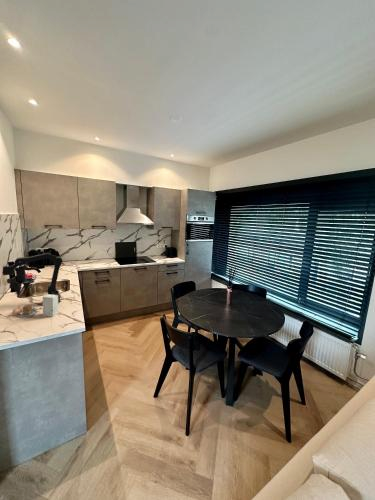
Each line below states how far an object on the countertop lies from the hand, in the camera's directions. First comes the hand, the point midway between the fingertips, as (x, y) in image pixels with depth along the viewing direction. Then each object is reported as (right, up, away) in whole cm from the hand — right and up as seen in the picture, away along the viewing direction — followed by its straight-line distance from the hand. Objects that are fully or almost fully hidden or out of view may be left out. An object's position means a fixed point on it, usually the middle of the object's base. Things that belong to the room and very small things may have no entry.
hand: (22, 293), depth 163 cm
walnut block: (+12, -13, -9) cm, 20 cm away
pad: (+12, -14, -9) cm, 20 cm away
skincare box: (+28, -15, -8) cm, 33 cm away
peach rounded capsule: (+3, -13, -5) cm, 14 cm away
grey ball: (+12, -13, -3) cm, 18 cm away
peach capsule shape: (+4, -14, -10) cm, 17 cm away
